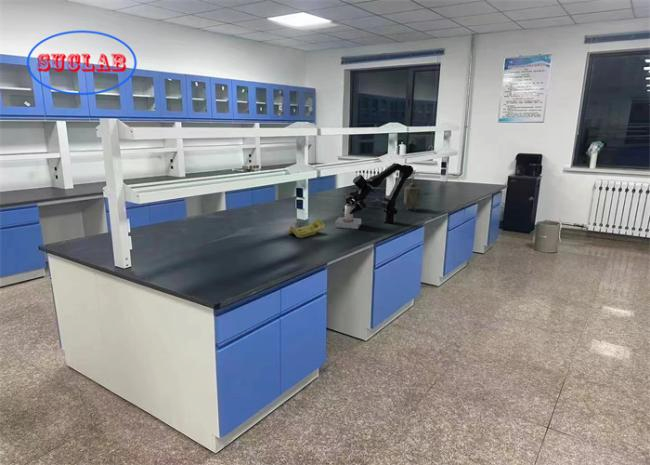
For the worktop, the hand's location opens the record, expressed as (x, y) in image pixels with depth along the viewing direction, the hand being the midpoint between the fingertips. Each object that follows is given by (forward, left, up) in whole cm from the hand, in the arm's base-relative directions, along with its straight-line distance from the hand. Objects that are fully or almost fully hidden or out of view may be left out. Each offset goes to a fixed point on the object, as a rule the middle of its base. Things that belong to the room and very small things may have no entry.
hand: (346, 212), depth 262 cm
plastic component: (+27, -17, -9) cm, 33 cm away
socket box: (-1, +1, -9) cm, 9 cm away
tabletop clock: (-67, +37, -9) cm, 77 cm away
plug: (-1, +1, -8) cm, 8 cm away
